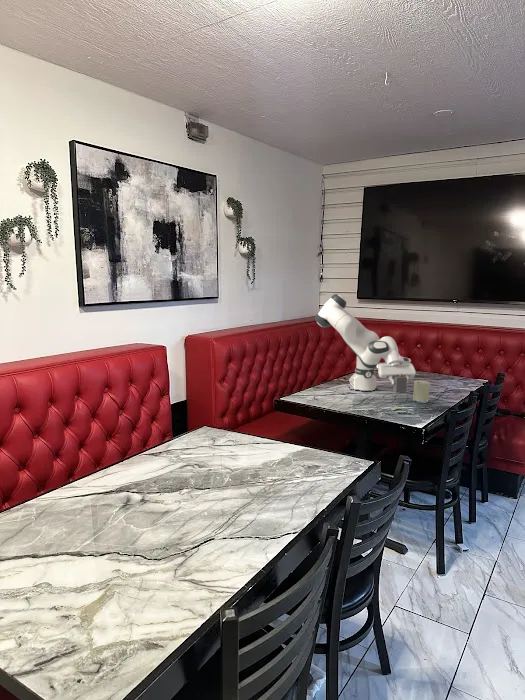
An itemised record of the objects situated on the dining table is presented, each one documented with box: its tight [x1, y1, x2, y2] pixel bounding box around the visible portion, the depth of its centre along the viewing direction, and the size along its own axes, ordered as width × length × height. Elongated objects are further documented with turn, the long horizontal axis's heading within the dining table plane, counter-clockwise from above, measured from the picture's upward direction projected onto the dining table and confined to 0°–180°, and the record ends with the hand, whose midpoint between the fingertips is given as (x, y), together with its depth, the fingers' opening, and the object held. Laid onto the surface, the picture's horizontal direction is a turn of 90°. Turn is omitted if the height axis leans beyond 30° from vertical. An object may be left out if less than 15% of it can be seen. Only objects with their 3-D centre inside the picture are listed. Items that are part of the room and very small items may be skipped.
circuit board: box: [391, 404, 406, 413], centre depth 252 cm, size 17×15×3 cm
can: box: [412, 380, 431, 401], centre depth 270 cm, size 9×9×12 cm
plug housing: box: [392, 373, 408, 393], centre depth 245 cm, size 4×6×10 cm
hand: (400, 383), depth 245 cm, fingers closed on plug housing, 6 cm apart
